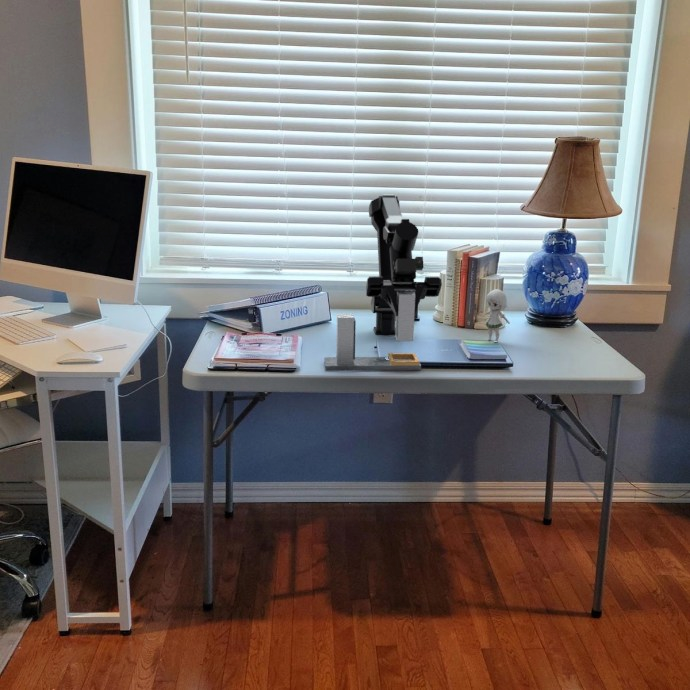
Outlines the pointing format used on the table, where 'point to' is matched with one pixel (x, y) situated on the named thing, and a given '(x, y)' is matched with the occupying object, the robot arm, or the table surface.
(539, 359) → the table surface
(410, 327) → the gray block
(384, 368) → the rail
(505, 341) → the table surface
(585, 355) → the table surface
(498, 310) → the figurine
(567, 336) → the table surface
